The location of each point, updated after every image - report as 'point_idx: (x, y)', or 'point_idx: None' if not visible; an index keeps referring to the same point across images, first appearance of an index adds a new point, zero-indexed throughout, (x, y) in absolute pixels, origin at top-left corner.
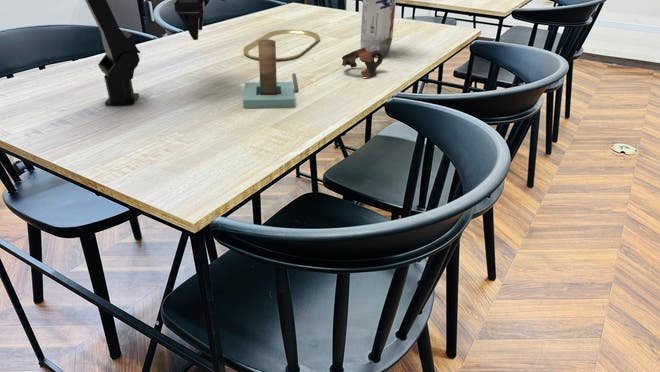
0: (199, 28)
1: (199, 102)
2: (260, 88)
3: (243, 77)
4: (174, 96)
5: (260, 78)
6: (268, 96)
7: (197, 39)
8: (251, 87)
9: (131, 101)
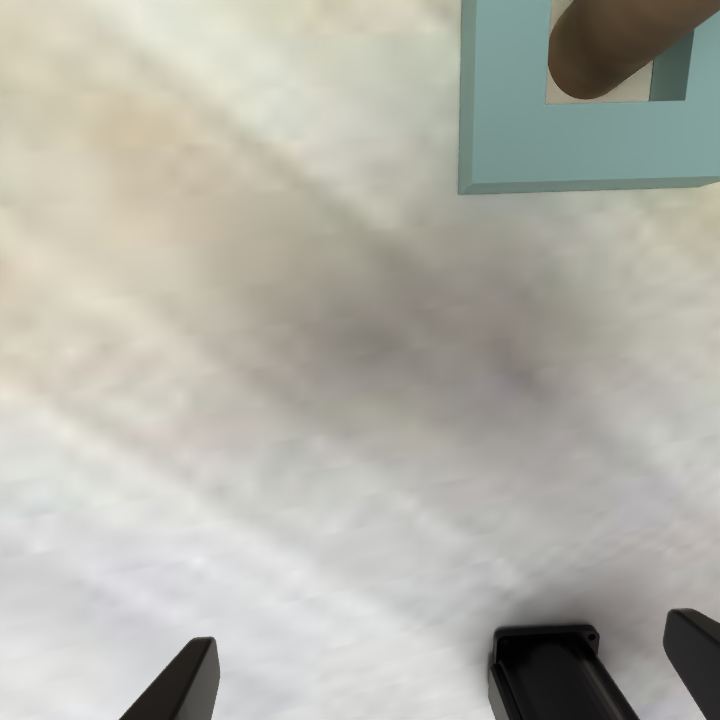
0: (210, 677)
1: (594, 397)
2: (637, 64)
3: (259, 219)
4: (513, 506)
5: (716, 11)
6: (717, 19)
7: (693, 610)
8: (558, 136)
9: (582, 639)
